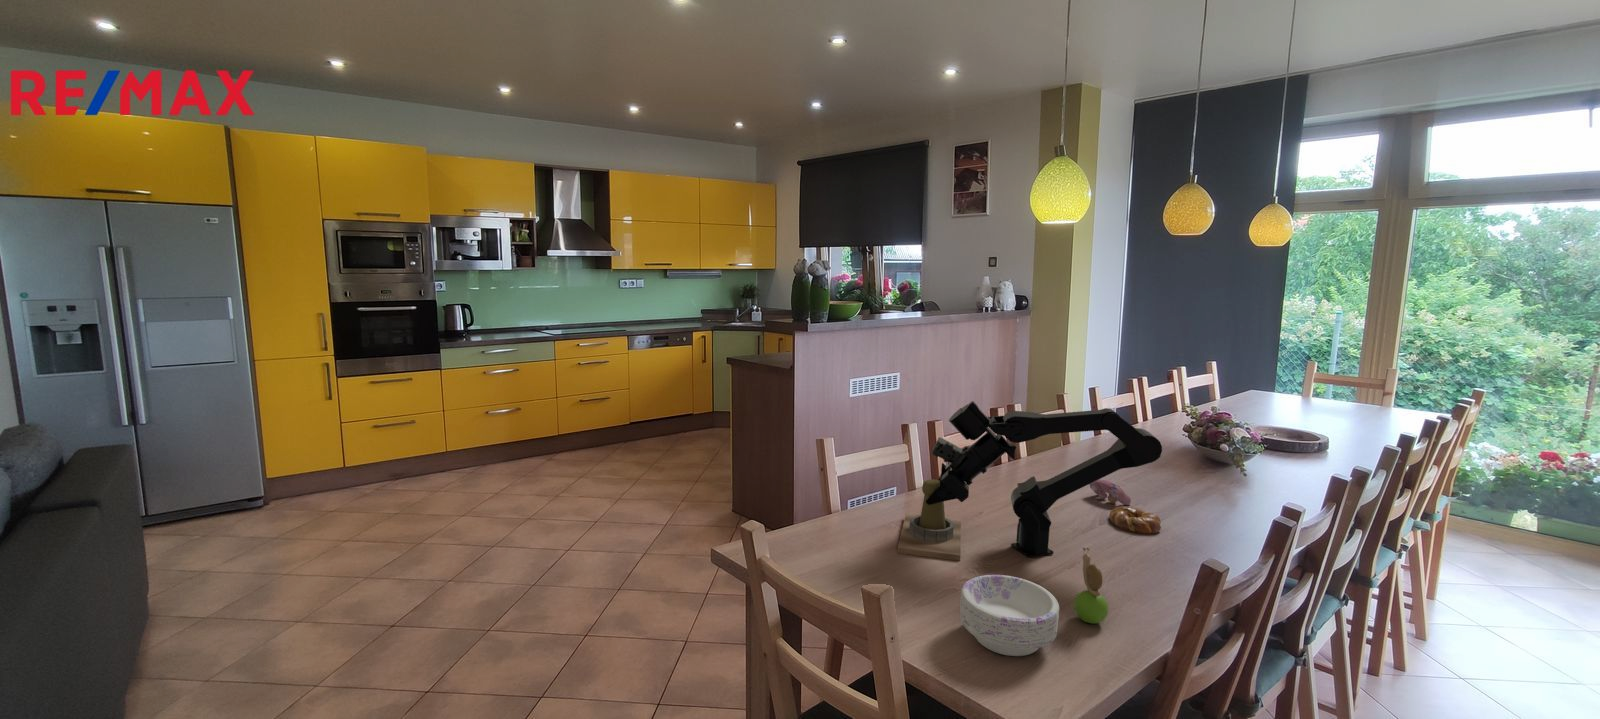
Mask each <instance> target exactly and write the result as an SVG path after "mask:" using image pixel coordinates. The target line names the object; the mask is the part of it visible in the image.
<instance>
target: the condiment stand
mask: <svg viewBox="0 0 1600 719" xmlns="http://www.w3.org/2000/svg"><path fill="white" fill-rule="evenodd" d="M920 517H921V514H919V515H913V514H905V516H904V519H903V520H904V522H903V525H902V529H901V533H900V537H899V541H898V544H897V553H898V554H905V555H914V556H920V557H927V558H928V557H929V558H935V559H943V560H952V561H959V562H961V553H962V552H961V550H962V549H961V548H962V546H961V543H962V541H961V540H962V520H958V519H950V518H946V517H945V523H946V529H940V530H932V529H925V528H922V527H919V523H920Z"/></svg>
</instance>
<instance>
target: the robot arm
mask: <svg viewBox="0 0 1600 719" xmlns="http://www.w3.org/2000/svg"><path fill="white" fill-rule="evenodd" d="M948 422H949V423H950V424H951V425H952V426H953V428H955V429H956V430H957V432H958V433H960V435H961V436H962V438H964V439H965V440H966V441H967V440H970V441H975V440H976V441H975V442H974V443H972V445H970V446H969V445H967V446H966V445H965V446H964V447H963V448H961V447H959V446H957V445H955V444H954V443H952V442H950V441H949V440H946V439H945V438H943V437H938V439H937V440H936V442H935V444H934V445H933V448H932V451H931V454H932V455H933V456H935V457H936V458H941V459H943V462H941V467H940V468H941V469H940V470H941V472H940V475H939V476H938V477H937V479H936V480H940V484H939V486H938V487H937V488H936V489H935V490H934V491H933V492H932V494H931V495H930V496H929V497H928V498H927V500H926V503H927V504H928V505H931V504H935V503H939V502H943V501H944V502H947V501H953V500H958V501H959V502H960V503H963V502H964V501H966V499H967V498H969V495H970V494H969V493H970V491H969V490H970V489H969V488H970V487H969V486H970V485H971V484H973V480H974V479H975V478H977V477H978V475H980V474H981V473H982V474H985V473H986V472H988V471H987V470H988V467H990V466H991V465H993V464H994V462H996V461H997V460H998V459H1000V458H1002V456H1003V455H1005V454H1007V455H1008V457H1009V458H1011V459H1012V460H1014V459H1015V458H1016V455H1015V454H1016V449H1017V445H1016V443H1017V444H1019V443H1024V442H1029V441H1032V440H1036V439H1038V438H1041V437H1043V436H1047V435H1055V434H1069V433H1081V432H1082V433H1083V432H1094V431H1096V432H1097V431H1108V432H1110V433H1111V434H1112V435H1113V436H1115V438H1117V440H1116V441H1115V442H1114V443H1113V444H1112V445H1111V447H1109V448H1108V449H1107V450H1104V451H1102V452H1101V453H1098V454H1097V455H1095V456H1093V457H1091V458H1089V459H1087V460H1085V461H1083V462H1081V463H1078V464H1077V465H1074V466H1073V467H1071V468H1069V469H1066V470H1065V471H1062V472H1061V473H1058V474H1057V475H1054V476H1052V477H1051V478H1049V479H1045V480H1039V481H1037V480H1036V477H1035V476H1031V477H1029V478H1028V479H1027V480H1025V481H1024V482H1018V483H1017V484H1016V485H1017V486H1016V487H1014V489H1013V490H1012V491H1011V495H1010V502H1011V506H1012V509H1013V513H1014V514H1015V515H1016V516H1017V518H1018V524H1017V528H1016V540H1015V541H1016V542H1011V543H1010V546H1011V547H1012V548H1013V549H1015V550H1017V551H1018V552H1020V553H1021V554H1024V555H1025V556H1027V557H1029V558H1036V557H1040V556H1041V557H1043V556H1050V555H1054V551H1053V550H1052V549H1050V548H1049V541H1050V540H1049V538H1050V531H1051V530H1050V529H1051V525H1052V521H1051V519H1050V515H1049V512H1048V511H1049V509H1050V508H1051V507H1052V506H1053V505H1054V504H1055V503H1056V502H1057V501H1058V500H1059V499H1062V498H1064V497H1066V496H1068V495H1070V494H1072V493H1075V492H1076V491H1078V490H1080V489H1082V488H1084V487H1086V486H1088V485H1089V486H1090V484H1091V483H1093V482H1095V481H1097V480H1099V479H1100V480H1102V478H1105V477H1108V476H1109V475H1111V474H1113V473H1115V472H1117V471H1119V470H1123V469H1131V468H1137V467H1142V466H1145V465H1148V464H1151V463H1154V462H1156V461H1158V460H1159V459H1160V458H1161V456H1162V452H1163V446H1162V444H1161V441H1160V440H1159V439H1158V438H1157V437H1156V436H1154V435H1153V434H1152V433H1151V432H1149V431H1148V430H1146V429H1143V428H1139V427H1137V428H1135V427H1134V426H1133V425H1132V424H1131V423H1129V422H1128V421H1126V419H1124V418H1122V417H1121V416H1120V415H1119V414H1118V413H1117V412H1116V411H1115V410H1113V409H1112V408H1109V407H1105V408H1102V409H1093V410H1085V411H1084V410H1082V411H1070V412H1069V411H1068V412H1059V413H1058V412H1057V413H1046V414H1045V413H1038V412H1031V411H1023V410H1022V411H1021V410H1012V411H1011V410H1010V411H1008V412H1006V413H1005V414H1004V415H993V416H988V415H986V414H985V413H984V412H983V411H982V410H981V409H980V408H979V406H978V404H977V403H976V402H975V401H973V400H972V401H970V402H969V403H968V404H965V405H964V406H962V407H960V408H958V410H956V411H955V412H954V413H953V414H952V415H951V416H950V418H948ZM1009 442H1011V443H1009ZM945 463H947V464H945Z"/></svg>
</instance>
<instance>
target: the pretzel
mask: <svg viewBox="0 0 1600 719" xmlns="http://www.w3.org/2000/svg"><path fill="white" fill-rule="evenodd" d="M1109 519H1110V523H1112V524H1113V525H1114V526H1116V527H1118V528H1120V529H1121V530H1124V531H1127V532H1134V533H1136V534H1137V533H1139V534H1156V533H1159V532H1161V530H1162V529H1161V528H1162V526H1161V523H1162V521H1161V518H1160V516H1158V515H1157V514H1155V513H1154V512H1146V511H1145V510H1144V509H1142V508H1140V507H1129V506H1127V505H1122V506H1121V505H1120V506H1117V507H1115V508H1112V509H1111V511H1110V512H1109Z"/></svg>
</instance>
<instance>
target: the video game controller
mask: <svg viewBox="0 0 1600 719" xmlns="http://www.w3.org/2000/svg"><path fill="white" fill-rule="evenodd" d="M1089 488H1090V489H1091V491H1093V492H1094V494H1095V495H1097V496H1098V497H1099V499H1100V500H1103V501H1104V500H1106V499H1107V500H1108V501H1109V503H1111V504H1116V503H1117V502H1119V503H1121V504H1122V505H1123V506H1130V505H1131V502H1132V499H1131V497H1130V496H1129V495H1128V494H1127V493H1126V492H1125V491H1124V489H1123V488H1122V487H1120V486H1119V485H1118V484H1117V485H1116V484H1115V483H1113V482H1112V481H1111V480H1107V479H1099V480H1097V481H1095V482H1093V483H1091V484H1089Z"/></svg>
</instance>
